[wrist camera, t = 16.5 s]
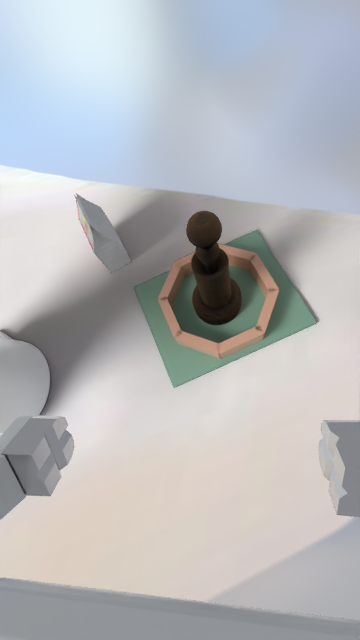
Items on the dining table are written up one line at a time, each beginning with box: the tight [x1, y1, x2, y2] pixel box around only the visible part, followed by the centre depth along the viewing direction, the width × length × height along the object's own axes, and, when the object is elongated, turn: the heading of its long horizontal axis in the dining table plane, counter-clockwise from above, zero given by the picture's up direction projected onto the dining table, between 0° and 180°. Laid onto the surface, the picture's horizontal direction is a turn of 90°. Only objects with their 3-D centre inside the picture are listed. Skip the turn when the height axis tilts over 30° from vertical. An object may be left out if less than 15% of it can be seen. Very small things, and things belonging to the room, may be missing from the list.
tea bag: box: [74, 193, 132, 273], centre depth 43 cm, size 4×7×10 cm, turn 27°
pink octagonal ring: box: [158, 244, 279, 359], centre depth 39 cm, size 14×14×3 cm
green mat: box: [134, 230, 317, 388], centre depth 41 cm, size 20×16×1 cm
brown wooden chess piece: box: [186, 211, 242, 325], centre depth 33 cm, size 7×6×18 cm
